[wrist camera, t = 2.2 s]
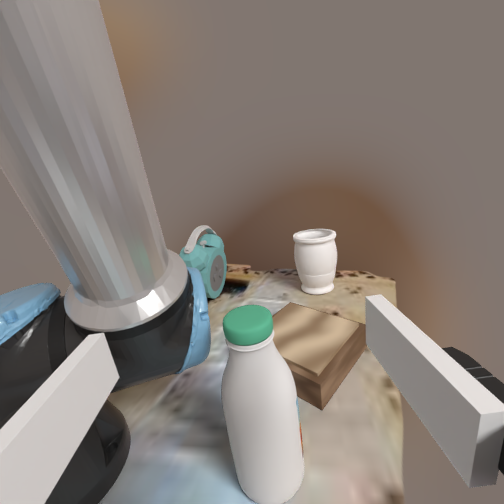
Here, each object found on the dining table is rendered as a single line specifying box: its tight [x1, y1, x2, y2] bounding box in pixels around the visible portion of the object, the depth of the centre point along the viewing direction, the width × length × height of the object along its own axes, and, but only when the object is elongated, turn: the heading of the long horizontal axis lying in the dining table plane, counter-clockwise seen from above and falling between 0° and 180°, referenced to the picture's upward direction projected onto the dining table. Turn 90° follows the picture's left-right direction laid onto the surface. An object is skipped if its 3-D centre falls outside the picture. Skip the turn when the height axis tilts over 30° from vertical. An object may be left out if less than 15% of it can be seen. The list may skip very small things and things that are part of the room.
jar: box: [293, 229, 337, 295], centre depth 68 cm, size 11×10×15 cm
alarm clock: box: [179, 225, 226, 299], centre depth 72 cm, size 17×10×20 cm, turn 165°
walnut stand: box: [272, 302, 367, 410], centre depth 46 cm, size 16×16×5 cm
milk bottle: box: [221, 305, 304, 504], centre depth 27 cm, size 8×8×20 cm
